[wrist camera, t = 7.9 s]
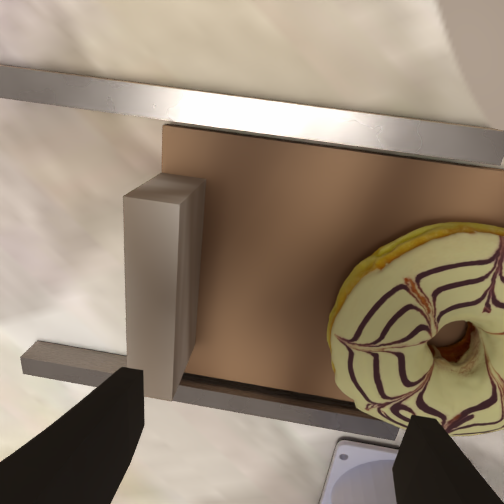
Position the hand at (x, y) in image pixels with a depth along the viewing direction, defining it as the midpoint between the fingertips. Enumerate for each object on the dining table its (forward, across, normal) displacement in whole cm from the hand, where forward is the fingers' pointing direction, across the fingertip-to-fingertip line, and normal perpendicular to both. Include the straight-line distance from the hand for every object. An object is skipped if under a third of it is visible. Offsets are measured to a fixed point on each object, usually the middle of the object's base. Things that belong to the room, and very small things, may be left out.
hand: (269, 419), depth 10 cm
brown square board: (+9, -3, 0) cm, 10 cm away
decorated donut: (+10, -8, +1) cm, 12 cm away
